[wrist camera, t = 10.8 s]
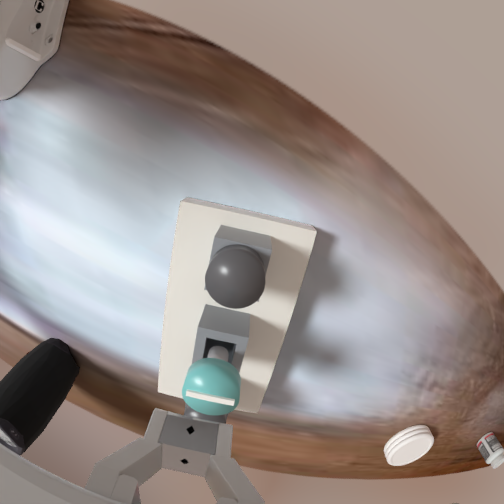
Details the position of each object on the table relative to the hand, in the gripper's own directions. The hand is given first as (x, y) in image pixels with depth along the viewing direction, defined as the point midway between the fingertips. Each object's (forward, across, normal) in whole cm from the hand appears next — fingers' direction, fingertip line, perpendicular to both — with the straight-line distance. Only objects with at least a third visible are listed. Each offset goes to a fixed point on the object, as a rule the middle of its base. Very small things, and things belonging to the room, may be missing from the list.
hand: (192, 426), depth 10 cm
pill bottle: (+25, -70, +35) cm, 82 cm away
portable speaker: (+26, +24, +25) cm, 43 cm away
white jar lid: (+25, -40, +31) cm, 56 cm away
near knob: (+21, -1, 0) cm, 21 cm away
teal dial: (+17, -1, +9) cm, 19 cm away
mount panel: (+25, -1, +9) cm, 27 cm away
